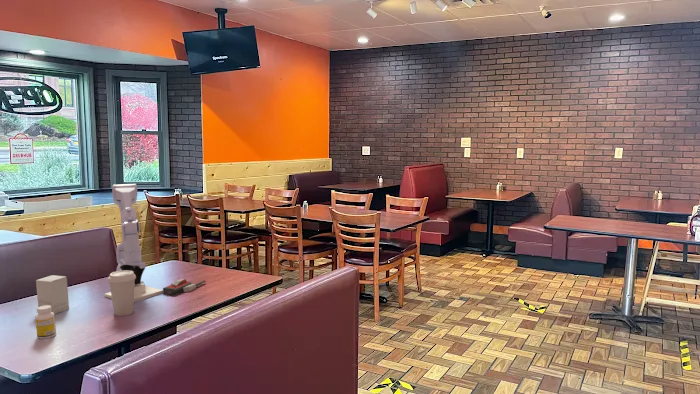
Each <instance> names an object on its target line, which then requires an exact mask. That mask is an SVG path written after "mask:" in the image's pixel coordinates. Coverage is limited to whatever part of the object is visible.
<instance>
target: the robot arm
mask: <svg viewBox="0 0 700 394" xmlns="http://www.w3.org/2000/svg"><path fill="white" fill-rule="evenodd" d="M111 189H112V190H111V191H112V201H113V204H114V205H117V206H118V208H119V210H120V224H121V225H120V226H121V235H122V236H121V237H122V242H121V243H119V244H118V245H117V247H116V248H115V249H116V251H115V253H116V263H117V264H118V265H116V266H117V267H116V269H115V272H116V271H123V270H129V271H133V272H134V274H135V275H136V278H135V285H136V284H140V281H141V283H143V284H144V281H143V280H141V279H142V276H143V273H144V271H145V269H146V263H145V262H144V261H142V249H141V245H140V237H139V235H140V230H141V228H140V223H139V220H138V217H137V213H136V211H137V210H135V209H134V208H133V205H134V204H136V203H137V200H138V186H137V184H136V183H125V184H124V183H122V184H115V183H114V184H113V185H112V186H111Z"/></svg>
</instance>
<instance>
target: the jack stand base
mask: <svg viewBox="0 0 700 394" xmlns="http://www.w3.org/2000/svg"><path fill="white" fill-rule="evenodd" d="M161 294H163V289H160V288H156V287H153V286H152V287H151V286H147V285H146V284H145V283H144V282H143V283H141V285H138V286H135V287H134V303H135V302H138V301H141V300H146V299H148V298H151V297H155V296H157V295H161ZM103 296H104V298H108V299H111V300H112V296H111V291H109V292H105V293H104V295H103Z"/></svg>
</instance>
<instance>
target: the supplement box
mask: <svg viewBox="0 0 700 394" xmlns="http://www.w3.org/2000/svg"><path fill="white" fill-rule="evenodd" d="M35 285H36V295H37V296H36V297H37V308H38V307H41V306H45V305H50V306H51V309H52V310H51V312H53V313H54V315H55V314H59V313H61V312H64V311H66V310H69V309H70V303H69V292H68V291H69V290H68V278H67V276H65V275H56V274H55V275H54V274H52V275H48V276H46V277H42V278H39V279H36V280H35Z"/></svg>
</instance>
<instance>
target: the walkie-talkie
mask: <svg viewBox="0 0 700 394" xmlns="http://www.w3.org/2000/svg"><path fill="white" fill-rule="evenodd" d="M203 283H206V280H202V281H199V282H197V283H192V282H191V281H187V279H184V278H179V279H177V280H175V281H174V283H170V285H167V286H165V287H163V288H162V290H163V293H162V294H163V295H168V296H177V295H180V294H181V293H188V292H191V291H194V290H196V289H197V287H198V286H201V285H203Z"/></svg>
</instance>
